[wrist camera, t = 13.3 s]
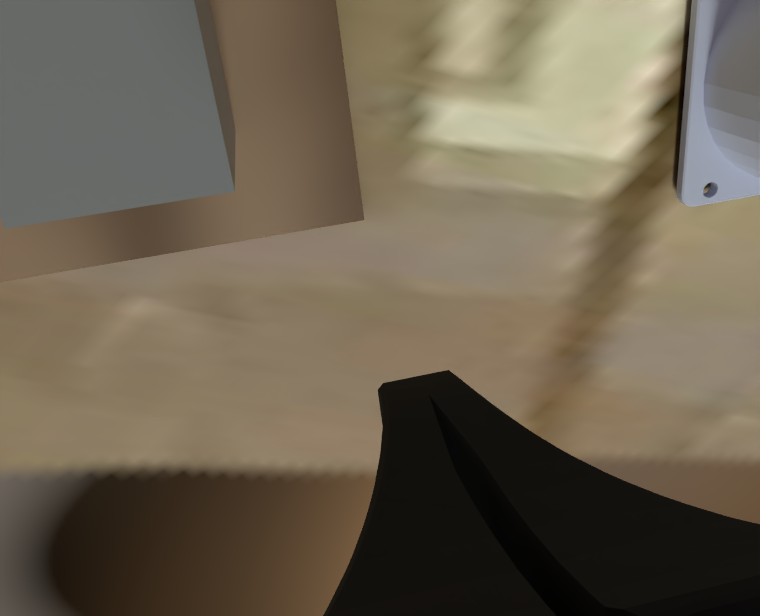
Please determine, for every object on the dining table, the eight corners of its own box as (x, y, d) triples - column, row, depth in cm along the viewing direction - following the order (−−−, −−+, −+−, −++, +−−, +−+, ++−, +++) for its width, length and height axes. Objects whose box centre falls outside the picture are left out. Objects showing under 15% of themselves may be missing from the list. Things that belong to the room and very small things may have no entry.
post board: (303, -218, 17) (331, -296, 12) (361, 213, 22) (397, 285, 17) (-183, -170, 16) (-378, -234, 11) (-5, 276, 21) (-82, 373, 16)
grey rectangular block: (198, -50, 17) (181, -57, 12) (235, 130, 20) (234, 191, 14) (11, -27, 17) (-91, -24, 12) (69, 156, 19) (4, 228, 14)
